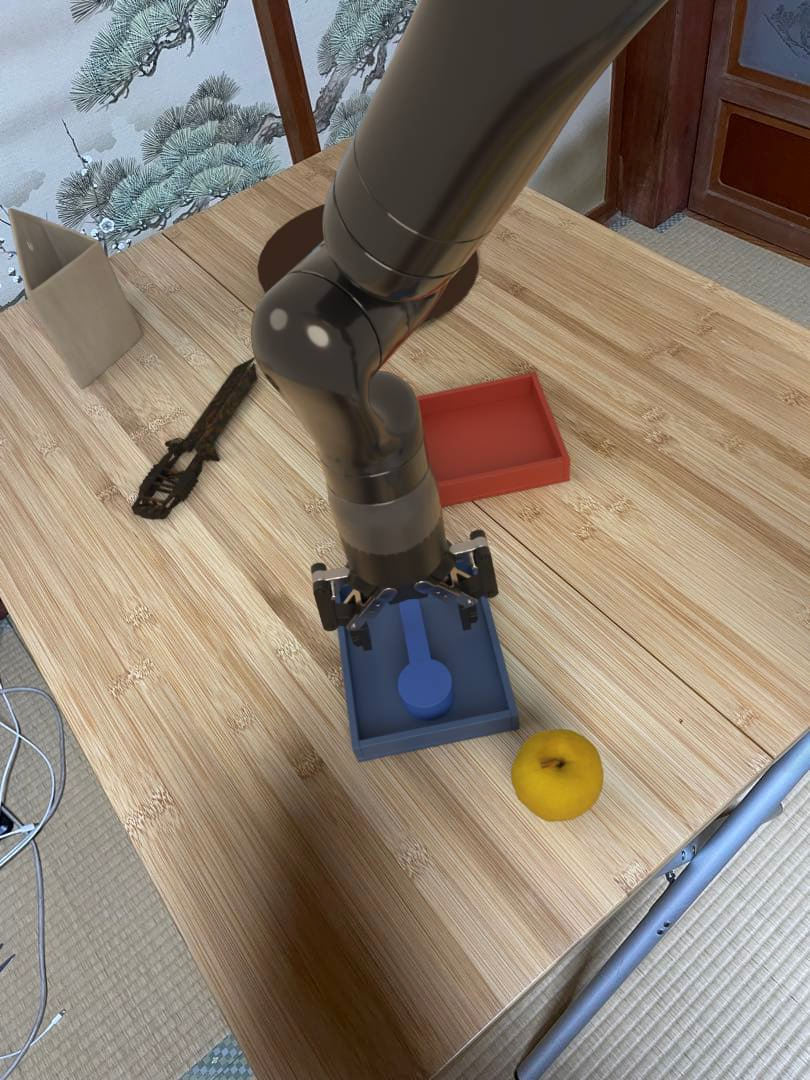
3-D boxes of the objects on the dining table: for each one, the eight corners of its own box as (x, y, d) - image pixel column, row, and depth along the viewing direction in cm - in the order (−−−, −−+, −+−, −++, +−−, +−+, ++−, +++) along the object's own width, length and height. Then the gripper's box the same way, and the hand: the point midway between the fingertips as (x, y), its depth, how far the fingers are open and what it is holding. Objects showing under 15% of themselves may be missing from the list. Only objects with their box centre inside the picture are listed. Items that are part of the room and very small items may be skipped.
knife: (246, 359, 101) (243, 350, 100) (291, 369, 98) (288, 360, 97) (119, 510, 88) (114, 502, 87) (167, 526, 85) (163, 517, 84)
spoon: (386, 612, 74) (382, 597, 73) (434, 602, 74) (431, 587, 73) (406, 725, 67) (402, 712, 66) (459, 714, 67) (456, 700, 66)
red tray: (535, 393, 90) (535, 371, 88) (569, 480, 82) (570, 459, 79) (398, 422, 90) (394, 400, 88) (418, 512, 82) (414, 491, 80)
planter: (143, 375, 102) (72, 231, 86) (79, 390, 101) (-3, 249, 86) (144, 298, 112) (81, 158, 97) (86, 311, 112) (14, 173, 97)
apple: (503, 824, 62) (498, 782, 56) (526, 746, 66) (524, 699, 59) (589, 850, 60) (594, 810, 54) (608, 769, 64) (614, 723, 57)
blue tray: (477, 570, 77) (475, 553, 75) (519, 729, 67) (518, 714, 65) (337, 599, 77) (331, 583, 75) (358, 762, 67) (352, 749, 65)
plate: (442, 354, 96) (439, 328, 93) (229, 332, 105) (220, 307, 102) (502, 219, 112) (501, 193, 109) (312, 209, 120) (307, 184, 117)
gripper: (291, 571, 56) (339, 687, 69) (498, 528, 56) (508, 651, 68) (284, 491, 61) (330, 612, 73) (475, 450, 61) (488, 579, 73)
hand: (416, 631), depth 71 cm, fingers open, 8 cm apart
